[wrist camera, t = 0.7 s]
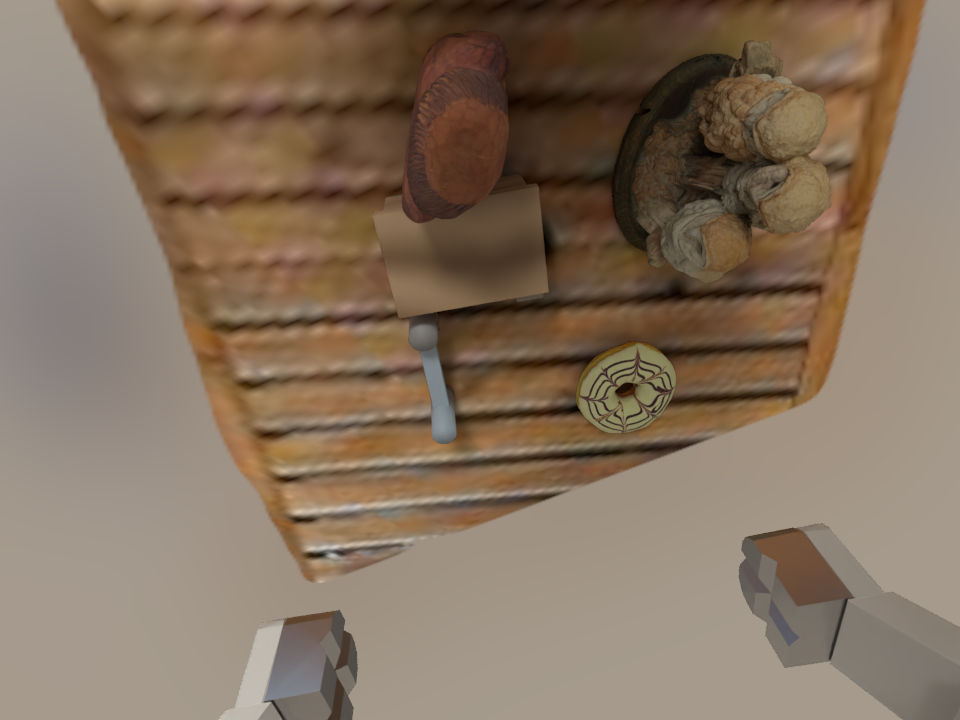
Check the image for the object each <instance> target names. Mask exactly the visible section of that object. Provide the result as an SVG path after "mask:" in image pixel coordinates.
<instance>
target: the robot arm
mask: <svg viewBox="0 0 960 720" xmlns="http://www.w3.org/2000/svg"><path fill="white" fill-rule="evenodd" d="M742 552H743V553H744V555H745V556H746V559H745V560H744V561H743V562H742V563H741V564H740V567H739V580H740V584H741V589H742V592H743V595H744V597H745V599H746V602H747V603H748V605H749V607H750V609H751V611H752V613H753V614H754V615H756V616H758V617H759V618H761V619H762V620H764V621H765V622H767V627H766V637H767V639H768V640H769V642H770V644H771V645H772V647H773V649H774V650H775V652H776V654H777V655H778V657H779V659H780V661H781V662H782V664H783V665H784V667H785V668H787V667H793V666H801V665H807V664H814V663H821V662H828V661H831V663H830V664H831V665H833V666H834V667H835V668H836V669H838V670H839V671H840V672H842V673H843V674H844V675H846V676H847V677H848V678H849V679H851V680H852V681H853V682H855V683H856V684H857V685H858V686H860V687H861V688H862V689H864V690H865V691H866V692H868V693H869V694H870V695H872V696H873V697H874V698H875V699H877V700H878V701H879V702H881V703H882V704H883V705H884V706H886V707H887V708H888V709H890V710H891V711H892V712H894V713H895V714H896V715H897V716H899V717H900V718H902V719H903V720H960V627H958V626H957V625H955V624H953V623H951V622H949V621H947V620H945V619H943V618H941V617H939V616H938V615H936V614H934V613H932V612H930V611H928V610H926V609H924V608H922V607H921V606H919V605H917V604H915V603H913V602H911V601H909V600H907V599H905V598H903V597H901V596H900V595H898V594H896V593H894V592H887V593H884V591H883V590H882V589H881V588H880V587H879V586H878V584H877V583H876V582H875V581H874V580H873V579H872V577H871V576H870V575H869V574H868V573H867V571H866V570H865V569H864V568H863V567H862V566H861V564H860V563H859V562H858V561H857V560H856V559H855V557H853V555H852V554H851V553H850V552H849V550H848V549H847V548H846V547H845V546H844V545H843V544H842V542H841V541H840V540H839V539H838V537H837V536H836V535H835V534H834V533H833V532H832V531H831V529H830V528H829V527H828V526H826V525H824V524H823V523H822V524H814V525H809V526H804V527H798V528H789V529H784V530H779V531H774V532H769V533H763V534H758V535H753V536H748V537H745V539H744V540H743V543H742ZM344 624H345V619H344V617H343V616H342V614H341V612H340V610H337V611H331V612H325V613H318V614H311V615H305V616H298V617H292V618H285V619H279V620H273V621H267V622H263V623H262V624H261V626H260V627H259V629H258V630H257V633H256V636H255V640H254V643H253V646H252V650H251V653H250V657H249V660H248V663H247V667H246V670H245V674H244V677H243V680H242V684H241V687H240V691H239V694H238V698H237V701H236V704H235V707H234V708H232V709H227V710H226V711H225V712H224V713H223V715H222V716H221V717H220V718H219V719H218V720H352V716H353V706H352V703H351V701H350V699H349V697H348V695H349V693H350V692H351V691H352V689H353V688H354V686H355V685H356V679H357V669H358V667H357V651H356V647H355V642H354V640H353V637H352V635H351V634H350V633H348V632H346V631H344Z"/></svg>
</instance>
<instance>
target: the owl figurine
mask: <svg viewBox="0 0 960 720" xmlns="http://www.w3.org/2000/svg"><path fill="white" fill-rule="evenodd" d="M782 67H783V61H782V59H781V58H778V57H773V56H772V53H771V43H770V42H768V41H764V42H754V41H753V40H750V41H747V42H745V44H744V48H743V51H742V58H741V59H739V60H736V59H734V58H733V57H731V56H728V55H724V54H705V55H702V56H697V57H695V58H692V59H690V60H687V61H686V62H683V63H682V64H680V65H679V66H677V67H676V68H674V69H672V70H671V71H670V72H668V73H667V74H666V75H665V76H664V77H663V78H662V79H661V80H660V81H659V82H658V83H657V84H656V85H655V87H654V88H653V89H652V90H651V92H650V94H649V95H648V96H647V97H646V98H644V100H643V101H642V104H640V105H641V107H642V109H647V108H648V109H649V108H650V109H651V111H650V112H649V113H647V114H644V115H642V116H640V112H639V113H636V114H635V115H634V117H633V119H632V120H631V122H630V124H629V126H628V128H627V131H626V133H625V135H624V138H623V141H622V144H621V148H620V152H619V155H618V158H617V162H616V165H615V171H614V178H613V192H612V193H613V195H612V197H613V204H614V205H613V206H614V209H615V215H616V220H617V223H618V224H619V226H620V228H621V230H622V232H623V234H624V236H625V237H626V239H627V240H628V241H629V242H631V243H632V244H633V245H634V246H635V247H637V248H639V249H641V250H643V251H647V257H648V258H650V259H649V260H648V262H649V264H650V265H652V266H654V267H655V268H656V269H658V268H659V267H661V266H662V265H664V264H665V263H666V262H667V261H668V262H669V263H670V264H671V265H672V266H673V267H674V268H675V269H676V270H677V271H680V272H684V273H685V274H687V275H688V276H690V277H692V278H696V279H698V280H699V281H701V282H703V283H710V282H713V281H715V280H718V279H720V278H721V277H722V276H723V275H724V274H725V273H726V272H727V271H729V270H732V269H734V268H735V267H737V266H738V265H740V264H741V263H742V262H744V261H745V260H746V259H747V258H748V256H749V250H750V246H751V244H752V242H751V239H752V233H751V231H752V230H751V226H754V227H757V228H759V229H762V230H766V231H768V232H770V233H772V234H786V233H788V232H797V233H798V232H800V231H803V230H805V229H806V228H807V227H808V226H809V225H810V224H811V223H812V222H813V221H815V220H816V219H817V218H818V217H819V216H820V215H821V214H822V213H823V212H824V211H825V210H826V209H828V208H830V206H831V187H830V180H829V178H828V175H827V174H826V168H825V167H824V166H823V165H822V164H821V163H820V162H818V161H813V160H811V158H810V156H809V155H808V154H809V153H811V152H812V151H813V150H815V149H816V147H817V146H818V144H819V141H820V137H821V136H822V135H823V133H824V131H825V129H826V127H827V115H826V110H825V102H824V101H823V99H822V98H821V97H820V96H819V95H818V94H816V93H810V92H807V91H805V90H804V89H803V88H801V87H796V86H794V85H793V84H792V81H791V80H790V79H788V78H786V77H783V76H781V72H782Z"/></svg>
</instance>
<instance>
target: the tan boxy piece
mask: <svg viewBox="0 0 960 720" xmlns="http://www.w3.org/2000/svg"><path fill="white" fill-rule="evenodd" d="M373 220H374V224H375V228H376V231H377V235H378V239H379V243H380V247H381V251H382V255H383V259H384V262H385V266H386V270H387V274H388V278H389V282H390V286H391V290H392V294H393V297H394V301H395V305H396V309H397V313H398V317H399V319H400V318H405V317H409V319H410V317H411V316H417V315H422V314H428V313H434V314H435V315H436V318H437V331H439V330H440V329H439V319H438V314H437V312H439V311H445V310H451V309H456V308H462V307H467V306H473V305H479V304H484V303H490V302H496V301H501V300H507V299H513V298H516V300H517V302H521V301H526V300H532V299H538V298H543V297H544V293H547V292H549V290H548V280H547V269H546V259H545V248H544V238H543V227H542V216H541V206H540V195H539V186H538V185H537V183H535V184H529V185H527V184H526V183H525V181H524V180H523V178H522V177H521V175H520V174H515V175H510V176H504V177H500V178H499V180H498V181H497V183H496V185H495V187H494V188H493V190H492V191H491V192H490V194H489V195H488V196H487V197H486V198H485V199H483V200H482V201H480V202H479V203H477V204H476V205H474V206H473V207H472V208H470V209H468V210H467V211H465V212H463V213H462V214H461V215H459V216H458V217H456V218H453V219H439V218H435V219H433V220H431V221H429V222H425V223H415V222H413V221H411V220H410V219H409V218H408V217H407V216H406V214H405V213H404V211H403V208H402V195H397V196H392V197H386V199H385V203H384V207H383V211H377V212H373Z"/></svg>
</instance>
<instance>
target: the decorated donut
mask: <svg viewBox="0 0 960 720" xmlns="http://www.w3.org/2000/svg"><path fill="white" fill-rule="evenodd" d="M588 363H589V362H588ZM628 382H629V383H633V385H632V387H631V389H629V390H628V391H627V392H624V393H617V392H616V391H615V390H616V389H617V388H619V387H620V386H621V385H622V384H623V383H628ZM675 386H676V374H675V370H674V368H673V366H672V364H671V363H670V362H669V360H668V359H667V358H666V357H665V356H664V354H663V353H662V352H660V351H659V350H658V349H657V348H655V347H653V346H651V345H649V344H645V343H640V342H636V341H633V342H629V343H626V344H623V345H620V346H616V347H614V348H611V349H609V350H607V351H605V352H603V353H601V354H599V355H597V356H596V357H595V358H593V360H592V361H591V362H590V363H589V364H588V365H587V366H586V367H585V369H584V370H583V372H582V374H581V376H580V379H579V382H578V386H577V392H576V401H577V405H578V408H579V409H580V411H581V413H582V414H583V415H584V417H585V418H586V419H587V420H589V421H590V422H591V423H592V424H593V425H595V426H596V427H597V428H598V429H600V430H602V431H605V432H607V433H627V432H631V431H634V430H638V429H642V428H645V427H647V426H648V425H649V424H651V423H652V422H653V421H654V420H655V419H656V418H658V417H659V416H661V414H662V413H663V411H664V409H665V408H666V406H667V405H668V403H669V401H670V400H671V398H672V396H673V394H674V391H675Z"/></svg>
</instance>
